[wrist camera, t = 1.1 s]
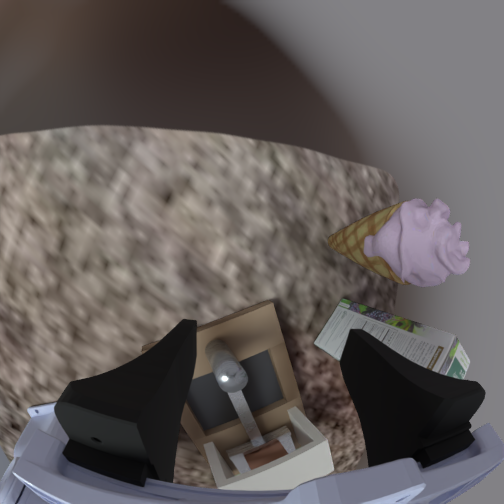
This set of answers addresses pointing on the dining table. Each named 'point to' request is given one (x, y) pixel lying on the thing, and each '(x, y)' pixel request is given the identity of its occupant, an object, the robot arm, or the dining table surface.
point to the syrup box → (395, 338)
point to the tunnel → (279, 462)
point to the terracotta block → (265, 455)
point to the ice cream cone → (406, 243)
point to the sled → (241, 404)
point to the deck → (256, 390)
